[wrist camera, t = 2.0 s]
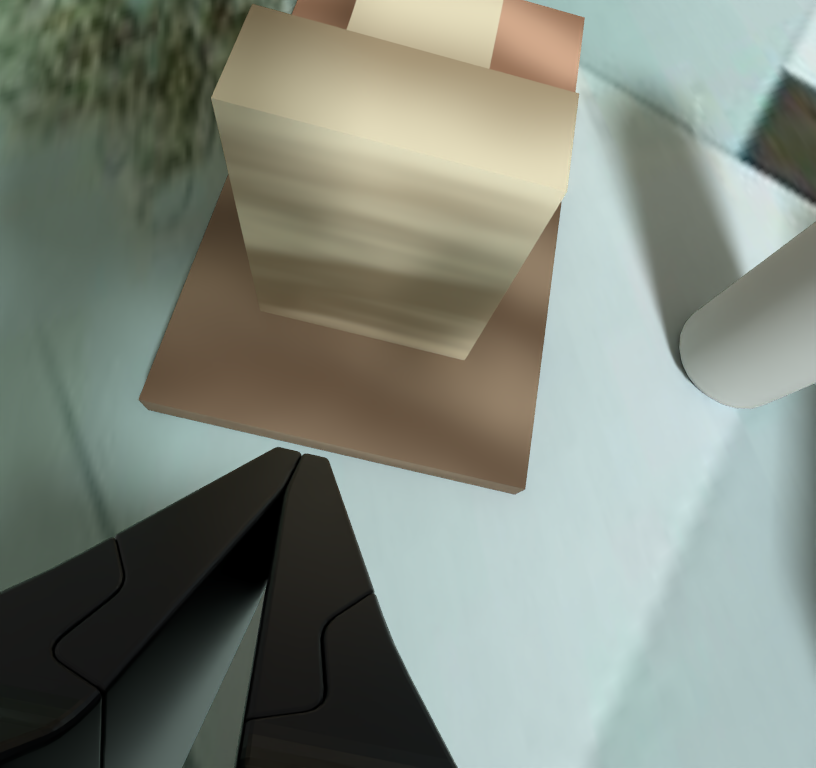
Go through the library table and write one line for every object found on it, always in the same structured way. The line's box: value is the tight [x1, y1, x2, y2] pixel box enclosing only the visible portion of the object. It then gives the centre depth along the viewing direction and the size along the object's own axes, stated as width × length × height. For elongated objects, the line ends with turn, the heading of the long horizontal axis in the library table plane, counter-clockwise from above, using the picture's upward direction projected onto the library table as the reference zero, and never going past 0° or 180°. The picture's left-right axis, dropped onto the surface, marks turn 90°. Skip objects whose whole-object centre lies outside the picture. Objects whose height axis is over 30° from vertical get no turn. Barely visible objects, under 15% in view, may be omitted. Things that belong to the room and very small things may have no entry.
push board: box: [138, 0, 585, 494], centre depth 25 cm, size 25×14×1 cm, turn 168°
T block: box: [211, 0, 579, 361], centre depth 19 cm, size 10×8×10 cm
